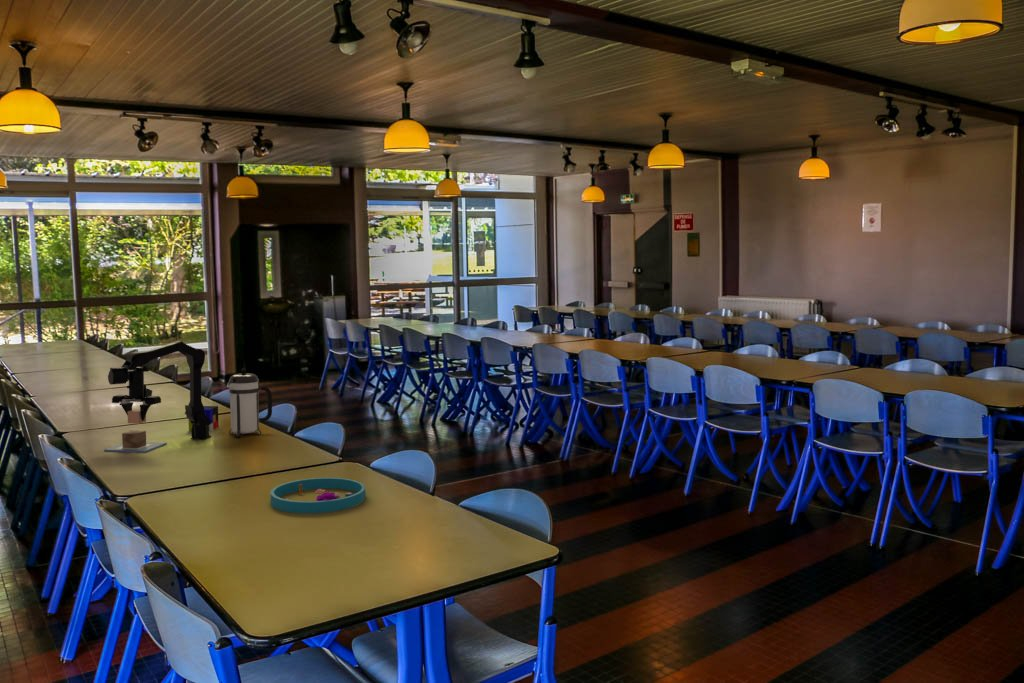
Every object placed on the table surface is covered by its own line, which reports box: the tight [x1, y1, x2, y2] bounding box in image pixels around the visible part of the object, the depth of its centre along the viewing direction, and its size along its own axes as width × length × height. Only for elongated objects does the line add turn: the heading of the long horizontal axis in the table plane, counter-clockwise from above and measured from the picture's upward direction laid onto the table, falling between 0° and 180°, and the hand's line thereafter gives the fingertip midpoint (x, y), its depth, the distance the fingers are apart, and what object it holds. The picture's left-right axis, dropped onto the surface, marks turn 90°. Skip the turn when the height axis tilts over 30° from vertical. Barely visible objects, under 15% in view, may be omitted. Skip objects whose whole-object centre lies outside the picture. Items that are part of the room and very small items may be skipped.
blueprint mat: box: [103, 441, 168, 454], centre depth 344 cm, size 18×16×1 cm
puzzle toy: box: [187, 405, 220, 432], centre depth 384 cm, size 10×10×10 cm
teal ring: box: [269, 477, 367, 514], centre depth 269 cm, size 30×30×6 cm
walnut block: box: [121, 429, 147, 448], centre depth 343 cm, size 6×6×6 cm
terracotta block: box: [127, 409, 147, 425], centre depth 344 cm, size 5×5×5 cm
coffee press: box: [226, 367, 273, 438], centre depth 372 cm, size 17×16×30 cm
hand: (136, 420), depth 344 cm, fingers closed on terracotta block, 5 cm apart
